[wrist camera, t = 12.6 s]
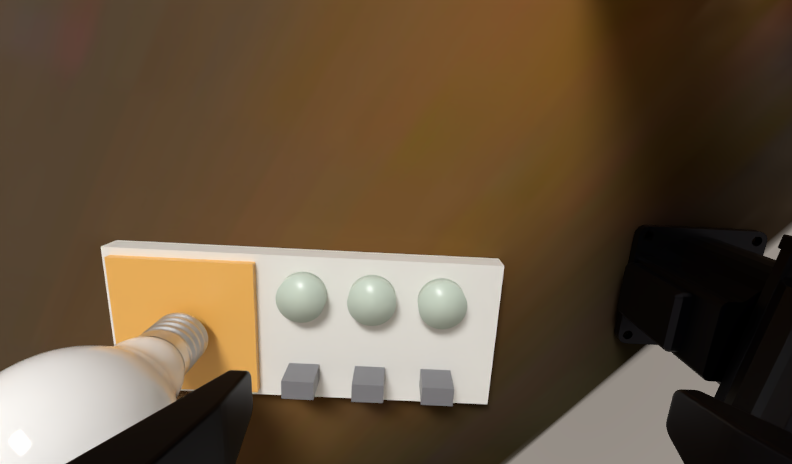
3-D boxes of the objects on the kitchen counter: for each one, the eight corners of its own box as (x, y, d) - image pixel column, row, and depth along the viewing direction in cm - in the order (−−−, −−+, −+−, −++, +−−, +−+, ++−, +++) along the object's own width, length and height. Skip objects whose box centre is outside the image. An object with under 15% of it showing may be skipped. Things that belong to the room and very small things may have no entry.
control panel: (498, 258, 21) (513, 277, 19) (483, 390, 23) (493, 425, 21) (116, 240, 21) (76, 256, 19) (133, 374, 23) (99, 407, 21)
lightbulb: (265, 298, 20) (121, 486, 10) (231, 400, 22) (73, 660, 11) (140, 253, 20) (-159, 401, 9) (113, 361, 21) (-171, 597, 11)
